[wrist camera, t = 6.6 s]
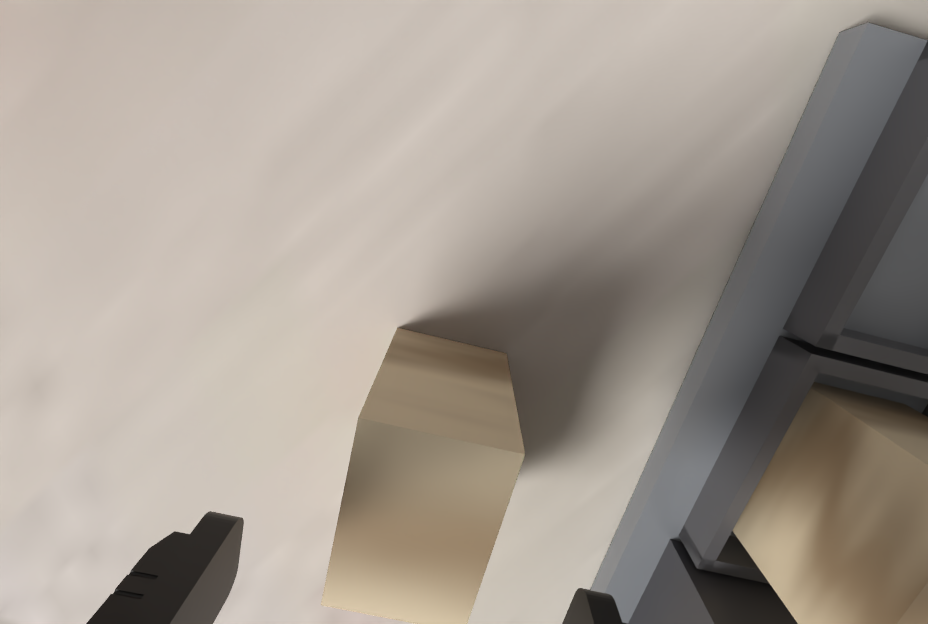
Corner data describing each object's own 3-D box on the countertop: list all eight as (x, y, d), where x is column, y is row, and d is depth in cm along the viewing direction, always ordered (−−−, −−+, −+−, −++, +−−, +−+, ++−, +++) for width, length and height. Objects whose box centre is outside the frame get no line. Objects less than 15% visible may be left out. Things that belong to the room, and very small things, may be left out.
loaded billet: (796, 377, 15) (986, 504, 10) (904, 403, 16) (1150, 543, 10) (722, 516, 17) (845, 691, 12) (820, 538, 18) (987, 720, 12)
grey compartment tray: (839, 32, 13) (1081, -51, 8) (1145, 123, 14) (1557, 101, 9) (567, 641, 21) (598, 802, 16) (771, 681, 22) (867, 849, 16)
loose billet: (397, 326, 16) (358, 417, 11) (506, 353, 17) (525, 454, 11) (367, 465, 18) (320, 605, 12) (465, 486, 18) (464, 632, 13)
